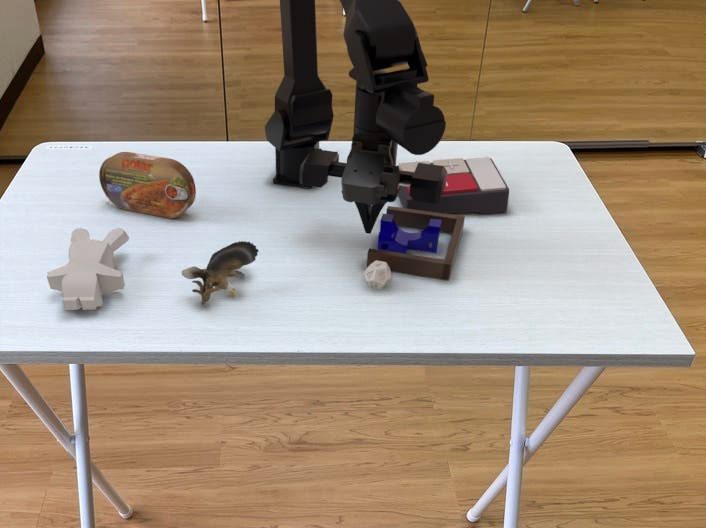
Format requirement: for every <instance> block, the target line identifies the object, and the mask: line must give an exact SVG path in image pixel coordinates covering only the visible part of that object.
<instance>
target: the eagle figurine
mask: <svg viewBox="0 0 706 528" xmlns="http://www.w3.org/2000/svg"><path fill="white" fill-rule="evenodd" d="M259 251H260V250H259V249H258V248H257V246H256V245H254V243H252V242H251V241H243V240H241V241H235V242H232V243H231V244H229V245H227V246H224V247H222V248H221V249H219V250H216V251H214V253H212V255H211V257H210V258H209V261H208V263H207V266H206V268H199V267H198V266H195V265H194V266H189V267H186V268H184V269H182V270H181V272H180V273H181V276H182V277H184V279H187V280H192V281H191V282H192V283H193V284H194V283H195V284H196V285H198V287H199V289H197V288H194V289H192V290H191V292H192V293H198V294H199V295H200V297H201V301H200V305H201V306H205V304H206V303H207V302H209V300H210V299H211V296H212V294H213V293H214V292H219V291H220V290H222V291H225V292H227V293H229V294H231V295H232V296H233V297H234V298H236V297H237V294H236V289H235V287H233V285H232V284H231V283H230V282H229V280H228V278H229V277H232V278H233V277H241V278H242V277H243V278H244V277H246V275H245V273H243V272H242V271H239V269H241V268H242V267H244V266H249V265H250V264H252V263H253V262H256V258H257V256H258V254H259V253H258V252H259ZM195 279H201V280H202V281H200V280H195Z"/></svg>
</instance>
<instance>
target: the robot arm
mask: <svg viewBox="0 0 706 528" xmlns="http://www.w3.org/2000/svg"><path fill="white" fill-rule="evenodd" d="M339 2H340V4H341V6H342V9H343V11H344V15H345V21H344V28H343V35H342V36H343V39H344V42H345V45H346V50H347V55H348V58H349V61H350V63H351V64H352V67H353V68H351V69H349V71H348V76H349V78H351V79H352V80H354V81H355V95H354V97H355V99H354V113H353V114H354V116H353V117H354V119H353V134H352V137H351V145H350V150H349V153H348V155H347V157H346V162H341V161H340V154H339V152H338V151H332V150H325V149H322V148H320V142H323V141H325V142H326V141H328V140H329V137H330V134H331V130H332V127H333V126H332V125H333V121H334V116H335V115H334V110H333V93H332V91H331V89H330V88H327V87H326V85H325V84H324V83H323V81H322V80H321V78H320V77H319V65H318V63H319V62H318V42H317V41H318V37H317V11H316V0H279V9H280V10H279V11H280V24H281V25H280V29H281V42H282V58H283V60H282V61H283V78H282V80H281V81H280V83H279V85H278V88H277V89H276V92H275V94H274V112H273V113H272V115H271V116H270V117H269V119H268V120H267V122H266V123H265V125H264V133H265V137H266V141H267V143H269V144H270V145H272V146H273V147H274V150H275V175H274V177H273V178H272V184H276V185H283V186H290V187H296V188H297V187H298V188H303V189H304V188H306V189H312V188H313V187H315V188H319V189H320V188H322V187H324V186H325V185H326V184H327V183H328V182H329V177H331V178H333V177H334V178H339V179H341V194H342V199H343V200H344V201H345V202H348V203H353V202H354V204H355V206H356V209H357V211H358V214H359V217H360V221H361V223H362V226H363V229H364V232H365V234H367V235H371V234H372V232H373V230H374V227H375V225H376V222H377V221H378V217H379V216H380V213H381V211H382V209H383V208H384V207H385V205H386V204H387V203H393V202H395V201H396V199H397V197H398V196H399V195H398V193H399V191H400V188H401V186H404V187H410V192H409V195H410V196H411V197H412V199H413V200H414V201H417V202H424V203H431V204H436V203H440V200H441V197H442V194H443V191H444V188H445V185H446V179H447V170H446V169H445V167H444V166H440V165H432V164H425V163H418V165H417V167H416V169H415V172H409V171H403V169H400V168H399V167H397V166H398V165H397V158H398V157H397V156H398V147H399V146H400V147H401V148H403V149H404V150H405V151H407V152H408V153H410V154H412V155H415V156H422V155H426V154H428V153H430V152H431V151H432V150H433V149H435V148H436V147H437V146H438V144H439V143H440V142H441V140H442V139H443V136H444V134H445V131H446V128H447V127H446V126H447V125H446V124H447V121H446V120H445V115H444V113H443V111H442V110H441V108H439V107H438V106H436V105H434V104H435V94H433V93H432V92H430V91H428V90H423V89H422V88H420V87H418V85H420V84H426V83H428V82H429V75H428V71H427V67H428V62H427V60H426V57H425V54H424V51H423V49H422V46H421V43H420V38H419V35H418V31H417V29H416V27H415V24H414V22H413V20H412V18H411V16H410V14H408V12H407V10H406V9H405V7H404V5H403V4H402V3H401V1H400V0H339ZM406 65H408V68H403V69H399V70H395V71H394V70H393V71H387V70H388V69H392V68H398V67H403V66H406ZM386 69H387V70H386Z"/></svg>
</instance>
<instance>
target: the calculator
mask: <svg viewBox="0 0 706 528" xmlns="http://www.w3.org/2000/svg"><path fill="white" fill-rule="evenodd" d="M418 163H425V164H432V165H440V166H444V167H445V169H446V170H447V179H446V185H445V188H444V191H443V194H442V197H441V200H440V203H436V204H431V203H424V202H417V201H414V200H413V199H412V197H411V196H410V195H409V192H410V187H404V186H401V188H400V191H399V193H398V195H397V196H398V197H399V200H400V203H401V206H402V208H407V209H415V210H422V211H429V212H436V213H444V214H457V213H468V212H469V213H470V212H477V213H479V214H480V215H488V214H489V215H490V214H501V213H507V211H508V205H509V199H510V198H509V196H510V188H509V186H508V184H507V183H506V181H505V179H504V178H503V176H502V174H501V172H500V170H499V169H498V167H497V166H496V163H495V162H494V159H492V158H491V157H489V156H483V157H471V158H465V159H464V158H463V157H457V158H445V159H434V160H432V162H430V160H423V161H422V160H421V161H411V162H410V161H409V162H400V163H398V165H396V166H397V167H399V168H400V169H403V171H409V172H415V169H416V167H417V165H418Z"/></svg>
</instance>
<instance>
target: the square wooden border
mask: <svg viewBox="0 0 706 528" xmlns="http://www.w3.org/2000/svg"><path fill="white" fill-rule="evenodd" d="M385 214H391V215H394V221H395V223H396V225H397V226H398V227H403V228H409V229H410V228H411V229H416V230H424V229H425V228H426V227H427V226H428V224H429V222H430V219H438V220H441V227H440V233H444V234H451V236H450V241H449V243H448V247H447V249H446V254H445V256H444V259H442V258H436V257H429V256H423V255H417V254H411V253H407V254H404V253H397V252H391V251H384V250H378V249H377V248H368V250H367V253H366V269H367V268H368V267H369V265H370V264H372V263H373V262H374V261H376V260H377V261H382V262H386V263H387V264H388V266H389V268H390V270H391V273H396V274H397V273H399V274H404V275H409V276H410V275H411V276H416V277H417V276H418V277H423V278H429V279H430V278H431V279H436V280H441V281H448V282H449V281H450V277H451V274H452V271H453V267H454V263H455V261H456V256H457V254H458V250H459V246H460V243H461V239H462V236H463V232H464V225H465V219H466V216H465V215H457V214H452V213H448V214H444V213H436V212H429V211H422V210H415V209H407V208H403V207H399V206H393V205H387V207H386V211H385Z"/></svg>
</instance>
